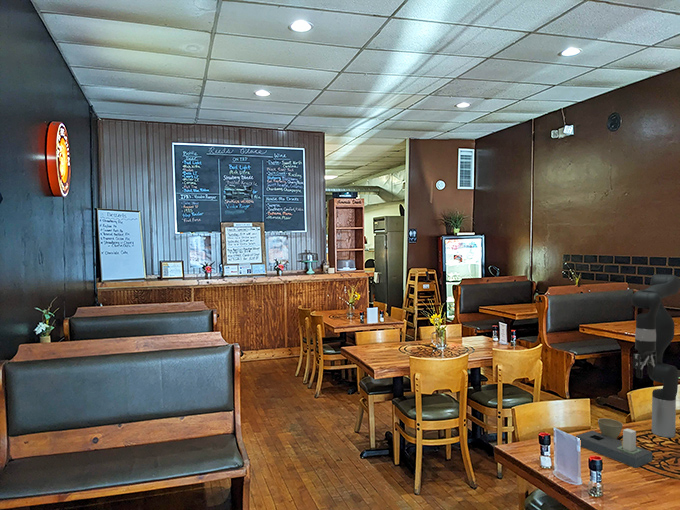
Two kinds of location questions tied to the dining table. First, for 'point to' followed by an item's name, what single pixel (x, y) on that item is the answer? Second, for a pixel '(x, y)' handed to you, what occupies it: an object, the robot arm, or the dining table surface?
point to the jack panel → (614, 449)
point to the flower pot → (610, 427)
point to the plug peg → (629, 440)
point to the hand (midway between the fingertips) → (644, 376)
